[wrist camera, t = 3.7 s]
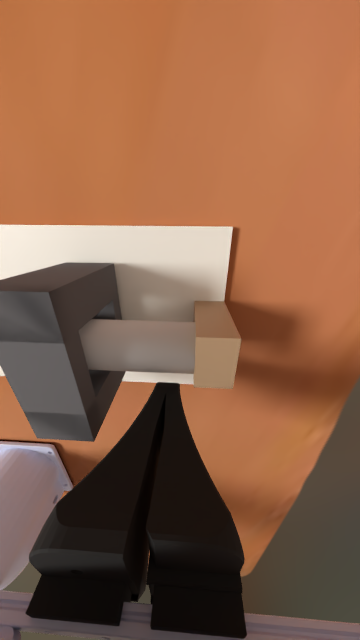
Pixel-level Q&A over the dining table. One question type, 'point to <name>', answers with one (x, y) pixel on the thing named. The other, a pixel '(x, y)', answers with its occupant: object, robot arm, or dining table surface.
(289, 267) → the dining table surface
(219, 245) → the linear rail slide
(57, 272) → the collar
